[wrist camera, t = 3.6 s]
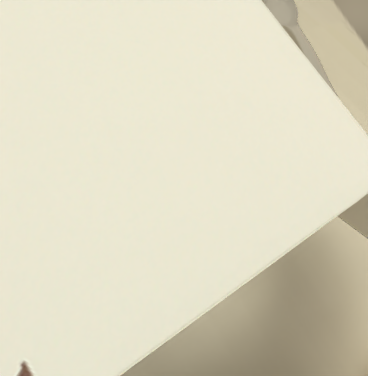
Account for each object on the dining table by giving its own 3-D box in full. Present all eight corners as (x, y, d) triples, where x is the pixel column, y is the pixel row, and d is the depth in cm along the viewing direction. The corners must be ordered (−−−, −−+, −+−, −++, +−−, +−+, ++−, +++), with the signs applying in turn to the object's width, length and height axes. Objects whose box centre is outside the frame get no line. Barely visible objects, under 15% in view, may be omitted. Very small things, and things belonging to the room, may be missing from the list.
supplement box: (221, 247, 23) (425, 184, 7) (103, 328, 20) (-28, 534, 4) (148, 136, 24) (169, -143, 8) (30, 200, 22) (-280, -8, 6)
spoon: (278, -6, 29) (289, -24, 28) (337, 112, 28) (353, 102, 26) (250, 2, 29) (259, -16, 27) (309, 123, 28) (322, 113, 26)
